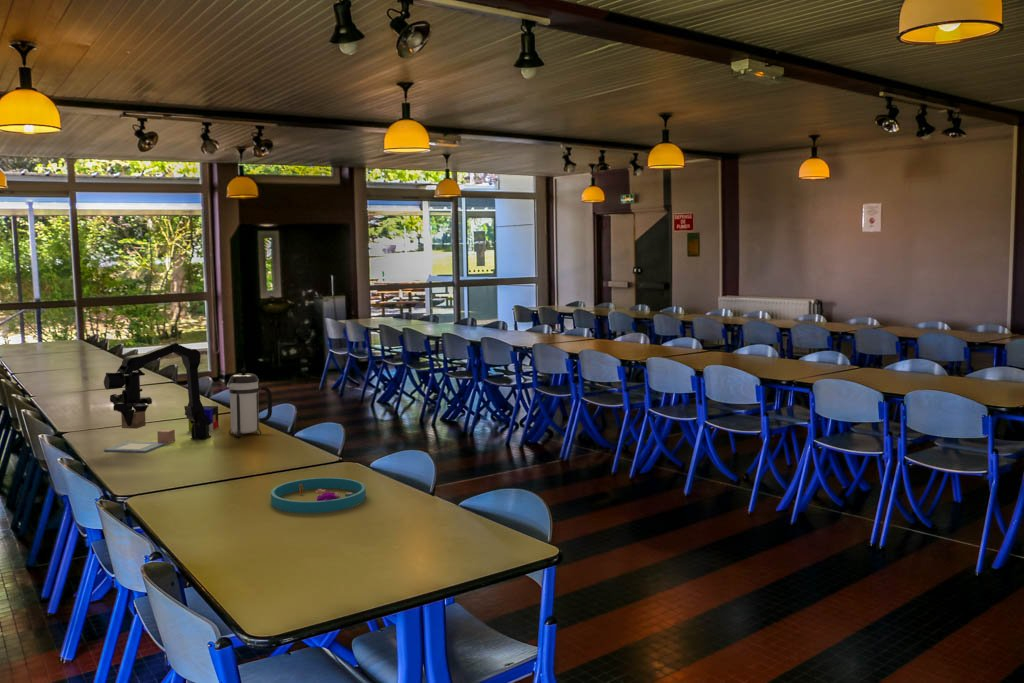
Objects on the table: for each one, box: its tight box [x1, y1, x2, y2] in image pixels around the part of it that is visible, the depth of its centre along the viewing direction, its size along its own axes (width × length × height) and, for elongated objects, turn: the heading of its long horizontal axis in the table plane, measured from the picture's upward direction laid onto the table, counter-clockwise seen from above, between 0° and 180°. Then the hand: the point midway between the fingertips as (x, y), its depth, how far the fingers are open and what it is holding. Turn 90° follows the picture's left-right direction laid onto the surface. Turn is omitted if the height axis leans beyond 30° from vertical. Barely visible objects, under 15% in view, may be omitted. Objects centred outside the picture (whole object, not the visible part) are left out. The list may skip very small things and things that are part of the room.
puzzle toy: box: [188, 405, 220, 432], centre depth 384 cm, size 10×10×10 cm
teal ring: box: [270, 477, 367, 514], centre depth 269 cm, size 30×30×6 cm
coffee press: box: [226, 367, 273, 438], centre depth 372 cm, size 17×16×30 cm
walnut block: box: [120, 410, 147, 430], centre depth 342 cm, size 6×6×6 cm
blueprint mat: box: [103, 440, 168, 454], centre depth 344 cm, size 18×16×1 cm
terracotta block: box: [157, 428, 176, 444], centre depth 356 cm, size 5×5×5 cm
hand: (133, 424), depth 342 cm, fingers closed on walnut block, 6 cm apart
